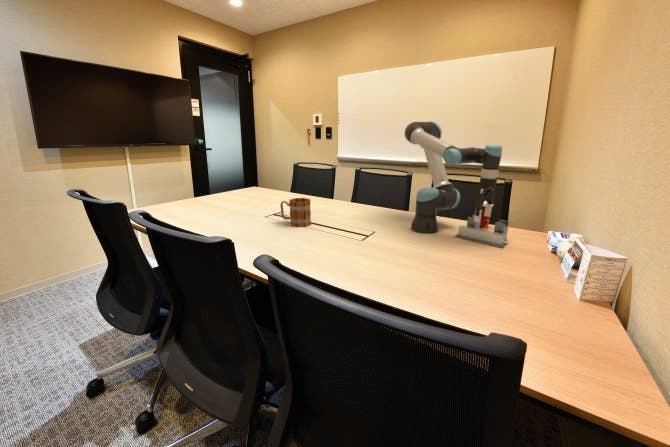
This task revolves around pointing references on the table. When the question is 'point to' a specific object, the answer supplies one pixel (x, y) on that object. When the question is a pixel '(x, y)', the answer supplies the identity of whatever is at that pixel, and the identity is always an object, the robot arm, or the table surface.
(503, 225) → the post
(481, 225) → the coffee cup
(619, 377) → the table surface
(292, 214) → the mug
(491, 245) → the gray base plate
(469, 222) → the post
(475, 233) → the rail
